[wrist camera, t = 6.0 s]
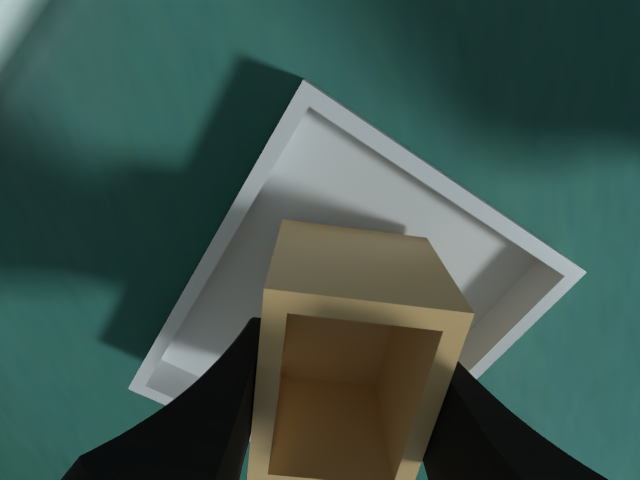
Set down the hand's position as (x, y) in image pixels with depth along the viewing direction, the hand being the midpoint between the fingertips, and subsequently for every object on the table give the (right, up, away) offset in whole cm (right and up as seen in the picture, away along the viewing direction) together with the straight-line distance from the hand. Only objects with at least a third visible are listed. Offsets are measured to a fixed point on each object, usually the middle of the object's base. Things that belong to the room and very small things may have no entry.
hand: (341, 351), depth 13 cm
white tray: (0, +1, +3) cm, 3 cm away
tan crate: (0, +1, +2) cm, 2 cm away
